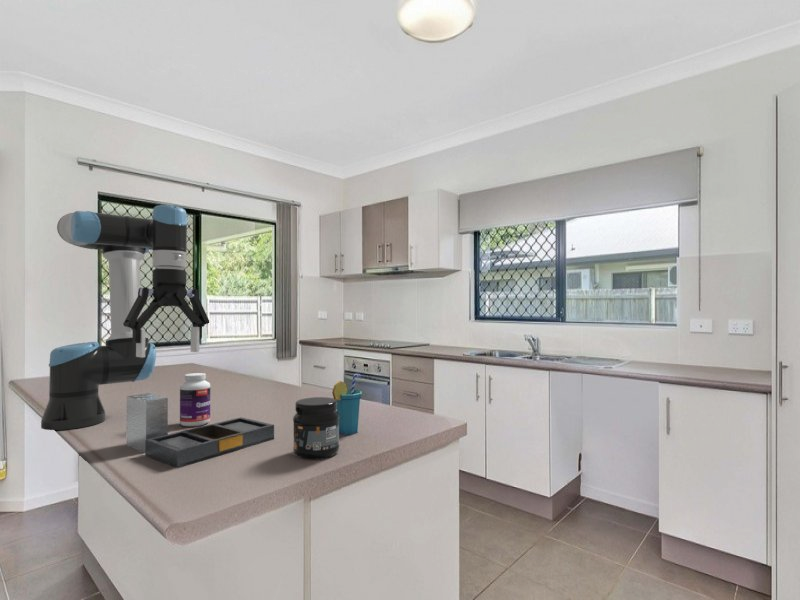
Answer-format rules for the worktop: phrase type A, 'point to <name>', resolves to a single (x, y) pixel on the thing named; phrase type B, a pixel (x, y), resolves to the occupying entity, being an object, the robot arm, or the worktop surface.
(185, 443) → the rack
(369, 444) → the worktop surface
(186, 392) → the pill bottle
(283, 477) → the worktop surface
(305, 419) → the supplement container
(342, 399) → the cup
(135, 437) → the grey rectangular block
